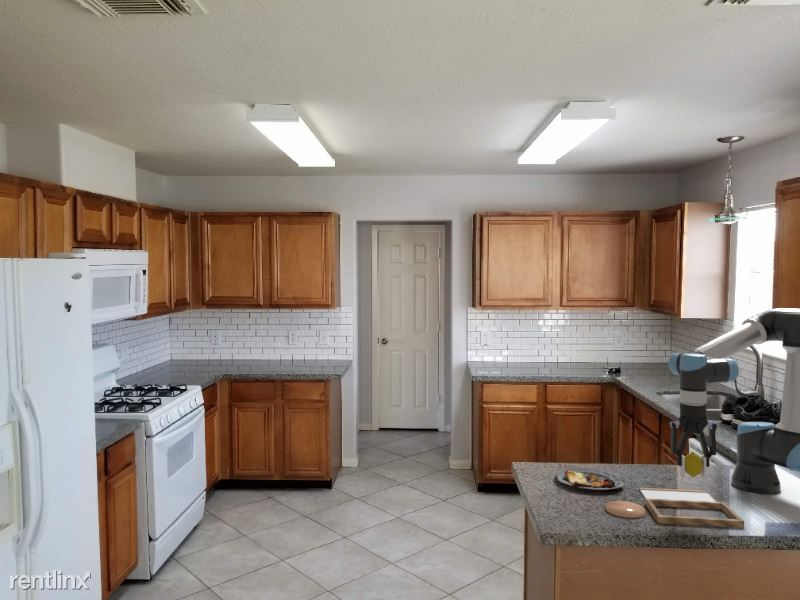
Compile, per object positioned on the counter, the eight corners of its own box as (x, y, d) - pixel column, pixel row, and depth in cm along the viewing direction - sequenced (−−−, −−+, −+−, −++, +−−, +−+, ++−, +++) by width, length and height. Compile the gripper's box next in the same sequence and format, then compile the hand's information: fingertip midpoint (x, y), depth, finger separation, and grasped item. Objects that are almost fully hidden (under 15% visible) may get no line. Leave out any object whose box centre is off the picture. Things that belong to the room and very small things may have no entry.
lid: (705, 493, 204) (705, 490, 204) (719, 507, 191) (720, 504, 191) (639, 490, 208) (639, 487, 208) (648, 504, 195) (648, 501, 195)
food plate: (629, 496, 201) (629, 486, 201) (559, 493, 206) (559, 483, 206) (617, 475, 226) (617, 466, 226) (555, 472, 231) (555, 463, 231)
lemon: (679, 474, 187) (679, 450, 187) (696, 474, 188) (696, 449, 187) (689, 480, 182) (689, 455, 182) (706, 479, 182) (706, 454, 182)
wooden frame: (723, 507, 191) (723, 501, 191) (744, 527, 176) (744, 521, 175) (644, 503, 195) (644, 497, 195) (658, 523, 179) (658, 516, 179)
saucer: (640, 504, 194) (640, 501, 194) (649, 519, 182) (649, 516, 182) (602, 502, 196) (602, 499, 196) (609, 517, 184) (609, 513, 184)
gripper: (720, 401, 186) (719, 473, 187) (658, 400, 189) (658, 471, 190) (729, 406, 179) (729, 481, 180) (665, 405, 182) (665, 479, 183)
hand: (692, 476), depth 185 cm, fingers closed on lemon, 5 cm apart
